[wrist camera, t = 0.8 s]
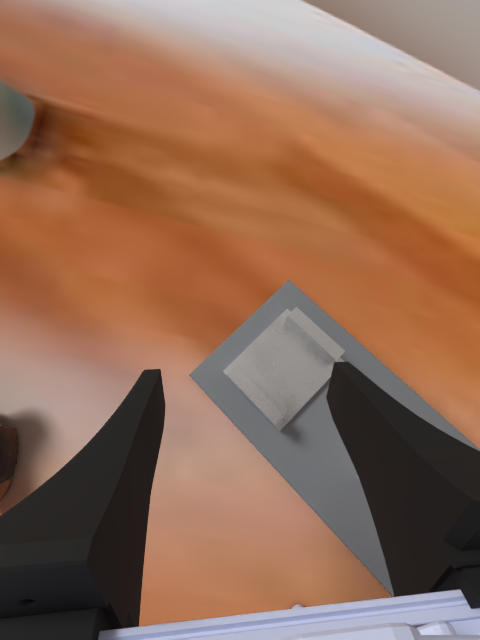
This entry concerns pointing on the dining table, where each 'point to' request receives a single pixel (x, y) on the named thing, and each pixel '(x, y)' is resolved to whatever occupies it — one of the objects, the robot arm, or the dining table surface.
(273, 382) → the end holder
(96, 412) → the dining table surface
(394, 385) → the board
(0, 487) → the pottery mug
